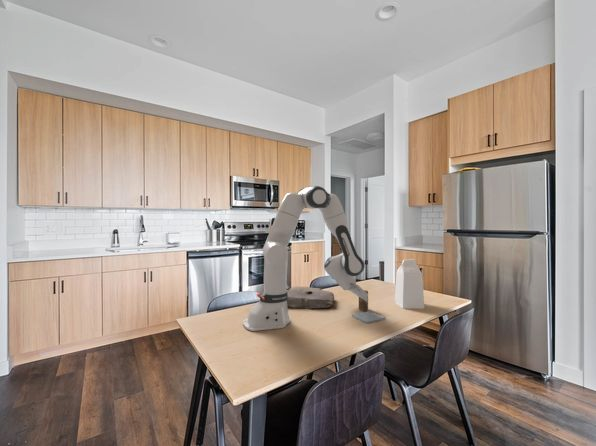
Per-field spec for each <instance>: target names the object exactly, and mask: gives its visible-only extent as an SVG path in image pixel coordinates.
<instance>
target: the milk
mask: <svg viewBox="0 0 596 446" xmlns="http://www.w3.org/2000/svg"><path fill="white" fill-rule="evenodd" d="M395 274H396V275H395V276H396V277H395V288H394V289H395V290H394V291H395V292H394V293H395V295H394V303H395V304H396V305H397V306H399V307H400V308H401V309H405V310H407V309H410V310H411V309H425V295H424V279H423V278H424V277H423V273H422V271H421V270H420V268H419V266H418V265H417V262H416V260H415V259H403V260H402V262H401V264H400V266H399V267H398V268H397V270H396V273H395Z"/></svg>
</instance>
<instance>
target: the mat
mask: <svg viewBox="0 0 596 446" xmlns="http://www.w3.org/2000/svg"><path fill="white" fill-rule="evenodd" d="M351 316H352V317H353V318H354V319H357V320H359V321H360V322H362V323H365V324H371V323H375V322H379V321H384V320H386V319H387V318H386V317H385V316H382V315H381V314H378V313H375V312H374V311H371V310H370V311H369V310H368V311H362V312H360V313H354V314H351Z"/></svg>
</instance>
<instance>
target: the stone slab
mask: <svg viewBox="0 0 596 446" xmlns="http://www.w3.org/2000/svg"><path fill="white" fill-rule="evenodd" d="M287 294H288V302H287V307H288V308H294V309H302V308H306V309H308V310H311V309H326V308H330V307H332V306H333V305H334V303H335V295H334V294H335V293H333V292H332V291H330V290H325V289H324V290H323V289H322V288H320V287H319V288H317V287H309V286H292V287H290V288H289V289H287Z"/></svg>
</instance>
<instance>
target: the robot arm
mask: <svg viewBox="0 0 596 446" xmlns="http://www.w3.org/2000/svg"><path fill="white" fill-rule="evenodd" d="M305 209H312V210H313V209H318V210H320V212H321V215H322V217H323V221H324V223H325V226H326V227H327V229H328V231H330V232H331V234H332V235H333V236H334V237H335V239H336V241H337V242H338V244H339V247H340V249H341V251H342V252H341V253H339V254H337V255H334V256H330V257H328V258H327V259H326V261H325V262H324V265H323V268H324V270H325V272H326V273H327V275H328V276H329V277H330V278H331V279H332V280H334V281H335V282H336V284H338V286H339V287H340V288H342V290H344V291H349V292H351V293H353V295H355V296H357V297H358V298H359V297H360V298H361V299H363V300H365V301H366V302H367V301H368V302H369V293H368V294H367V293H366V292H365V291H364V289H363V288H362V287H361V286H360V285H359V284H357V282H356V277H357V276H360V275H361V274H362V273H363V272H364V270H365V266H366V264H365V262H364V260H363V259H362V257H360V256H359V254H358V253H357V251H356V248H355V245H354V242H353V239H352V237H351V234H350V231H349V225H348V221H347V217H346V213H345V211H344V208H343V205H342V203H341V201H340V199H339V197H338V195H336V194H335V193H329V192H328V191H327V190H326V189H325V188H324V187H322V186H319V185H314V186H313V185H310V186H307V187H303V188H301V189H300V190H299V191H298V192H288V193H286V194H285V196H284V197H283V199H282V200H281V203H280V205H279V207H278V210H277V212H276V215H275V217H274V221H273V223H272V226H271V228H270V230H269V232H268V235H267V238H266V240H265V243H264V245H263V247H262V254H263V259H264V261H263V262H264V263H263V292H262V293H260V292H258V293H256V297H258V298H259V301H258V302H257V303H256V304H254V305H253V306H252V307H251V308H249V310H248V313H247V314H248V315H247V318H245V319H243V321H242V326H243V327H244V328H245V329H246V330H247V331H251V332H256V331H266V330H273V329H275V330H276V329H282V328H283V329H284V328H285V327H286V326H287V325H288V324H289V323H290V322H291V318H290V315H289V310H288V308H289V307H288V305H287V302H288V294H287V291H288V288H287V282H288V281H287V274H288V273H287V272H288V264H289V263H288V261H289V252H288V251H289V250H288V246H289V243H290V241H291V239H292V237H293V235H294V233H295V231H296V228H297V226H298V223H299V220H300V217H301V215H302V212H303V210H305ZM367 297H368V298H367Z"/></svg>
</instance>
